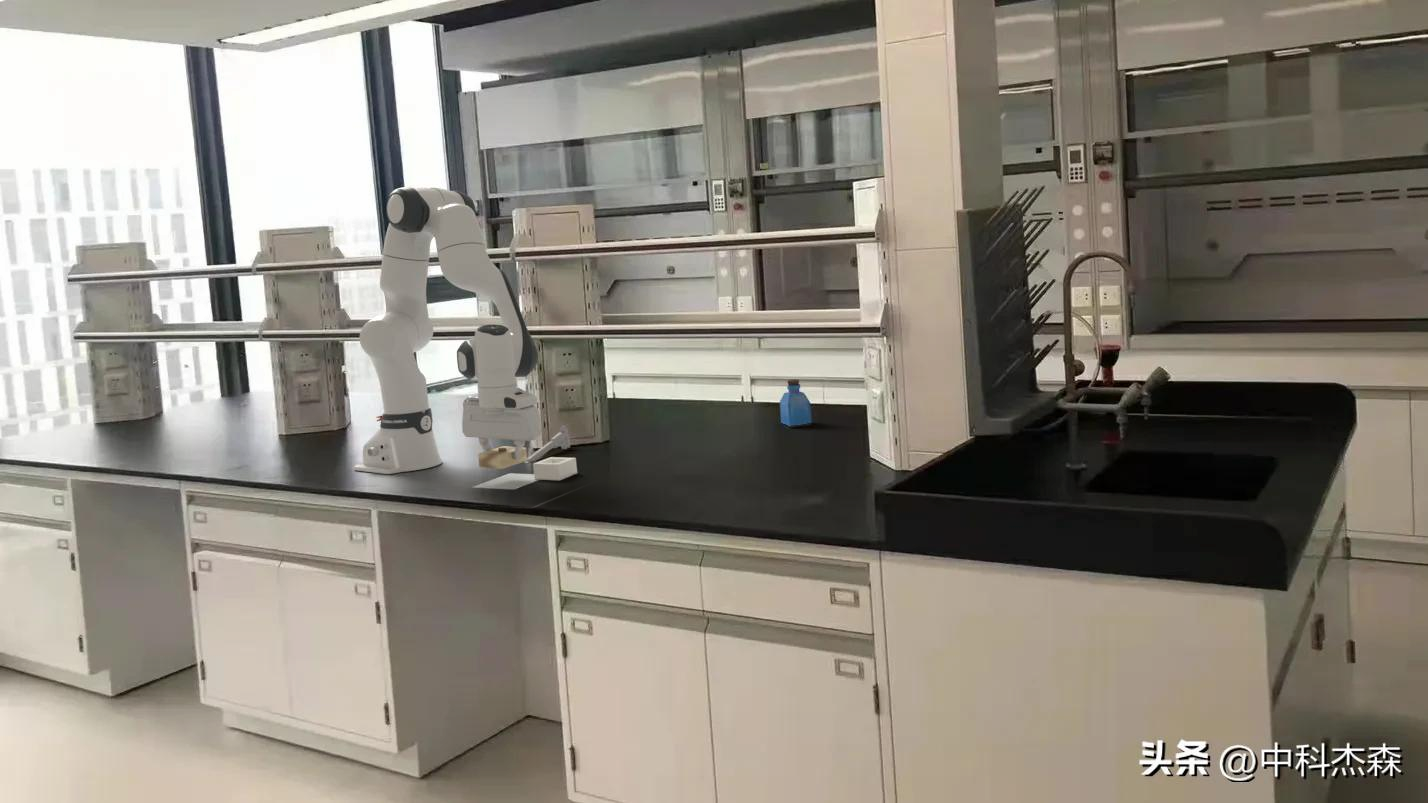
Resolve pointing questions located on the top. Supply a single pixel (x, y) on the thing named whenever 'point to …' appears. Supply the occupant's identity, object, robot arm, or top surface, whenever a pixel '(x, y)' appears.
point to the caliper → (552, 444)
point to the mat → (508, 481)
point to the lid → (500, 458)
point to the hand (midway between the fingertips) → (503, 457)
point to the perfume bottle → (795, 405)
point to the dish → (555, 468)
